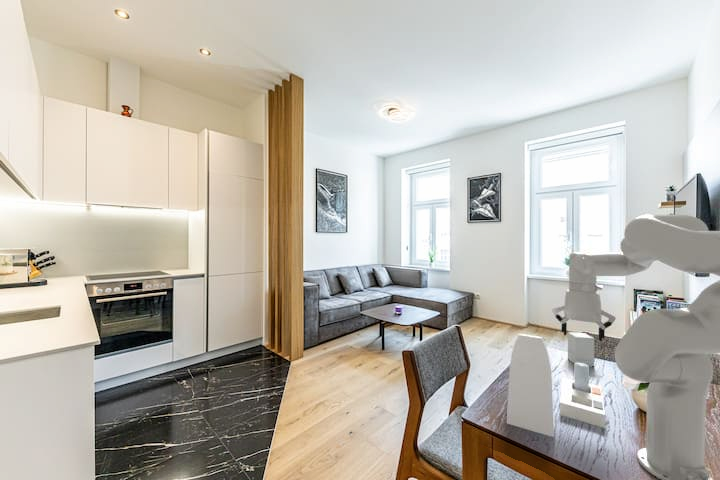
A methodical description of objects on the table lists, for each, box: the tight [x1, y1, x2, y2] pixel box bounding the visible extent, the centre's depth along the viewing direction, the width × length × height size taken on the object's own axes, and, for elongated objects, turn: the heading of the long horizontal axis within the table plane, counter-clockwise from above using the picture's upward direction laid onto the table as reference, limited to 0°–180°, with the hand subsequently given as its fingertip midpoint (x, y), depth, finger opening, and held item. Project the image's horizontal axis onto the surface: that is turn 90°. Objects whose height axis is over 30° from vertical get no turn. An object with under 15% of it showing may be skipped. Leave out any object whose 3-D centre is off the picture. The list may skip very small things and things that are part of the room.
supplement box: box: [567, 331, 595, 367], centre depth 129 cm, size 7×7×13 cm
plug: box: [573, 362, 590, 393], centre depth 101 cm, size 4×4×12 cm
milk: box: [506, 333, 555, 438], centre depth 90 cm, size 12×12×26 cm
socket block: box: [559, 377, 606, 429], centre depth 97 cm, size 20×11×4 cm, turn 143°
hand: (582, 337), depth 100 cm, fingers open, 9 cm apart
